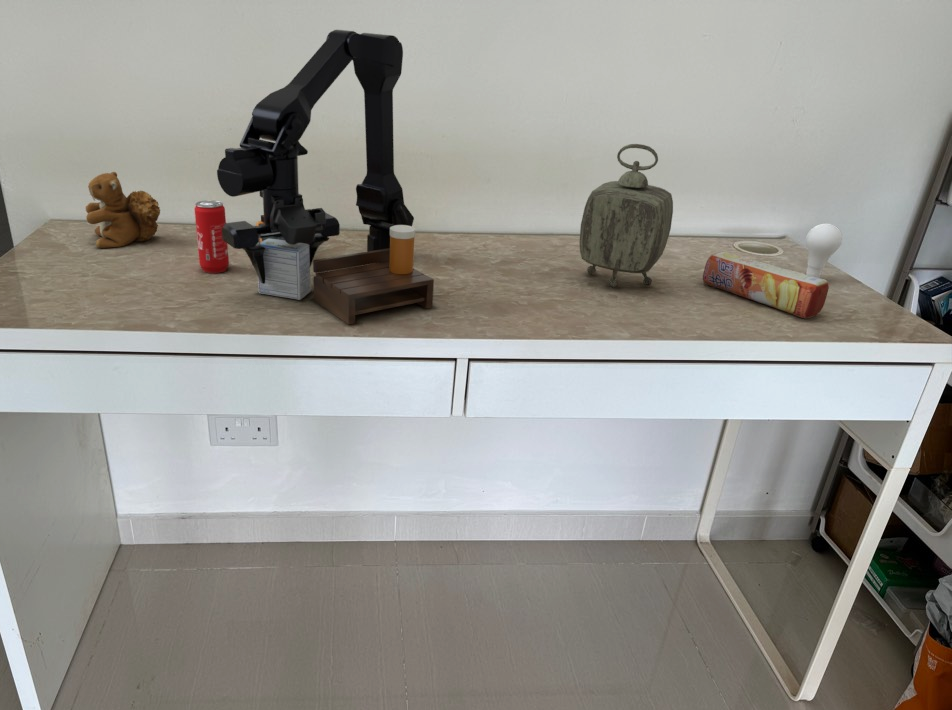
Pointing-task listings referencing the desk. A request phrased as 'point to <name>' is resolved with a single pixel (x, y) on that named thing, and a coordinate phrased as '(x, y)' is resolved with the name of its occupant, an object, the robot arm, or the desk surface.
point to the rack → (367, 285)
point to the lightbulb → (821, 247)
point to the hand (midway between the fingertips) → (283, 279)
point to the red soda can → (211, 236)
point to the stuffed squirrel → (120, 213)
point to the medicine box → (285, 269)
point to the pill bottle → (401, 249)
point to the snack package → (767, 284)
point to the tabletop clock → (626, 223)
